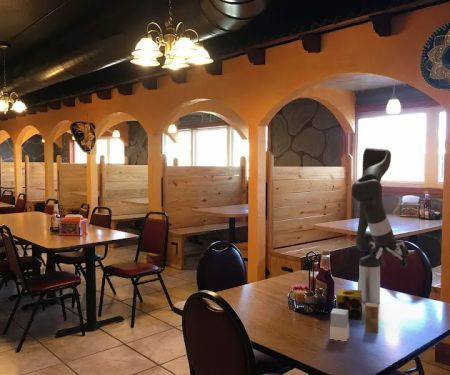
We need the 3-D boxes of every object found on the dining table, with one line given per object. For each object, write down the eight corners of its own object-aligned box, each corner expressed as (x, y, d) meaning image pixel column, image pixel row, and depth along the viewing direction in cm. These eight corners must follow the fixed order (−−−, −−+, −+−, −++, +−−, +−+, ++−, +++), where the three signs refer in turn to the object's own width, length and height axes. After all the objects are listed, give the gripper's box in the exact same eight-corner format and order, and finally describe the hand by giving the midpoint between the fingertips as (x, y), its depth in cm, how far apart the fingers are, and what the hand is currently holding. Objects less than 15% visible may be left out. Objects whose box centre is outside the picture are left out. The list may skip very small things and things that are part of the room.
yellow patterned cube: (362, 312, 189) (362, 290, 188) (361, 320, 179) (361, 296, 179) (338, 310, 192) (338, 288, 192) (336, 318, 183) (336, 294, 182)
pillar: (365, 331, 168) (365, 305, 167) (366, 327, 172) (366, 302, 171) (377, 332, 166) (377, 307, 165) (378, 328, 170) (378, 303, 169)
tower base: (330, 339, 160) (330, 326, 160) (332, 333, 166) (332, 320, 166) (346, 342, 158) (346, 328, 158) (349, 336, 163) (349, 323, 163)
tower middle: (330, 326, 160) (330, 312, 160) (333, 321, 165) (333, 308, 165) (346, 328, 158) (346, 314, 158) (348, 323, 163) (348, 310, 163)
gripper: (403, 223, 158) (415, 261, 162) (367, 224, 169) (380, 259, 173) (395, 234, 154) (408, 272, 158) (359, 235, 164) (372, 270, 168)
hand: (393, 265), depth 165 cm, fingers open, 8 cm apart
